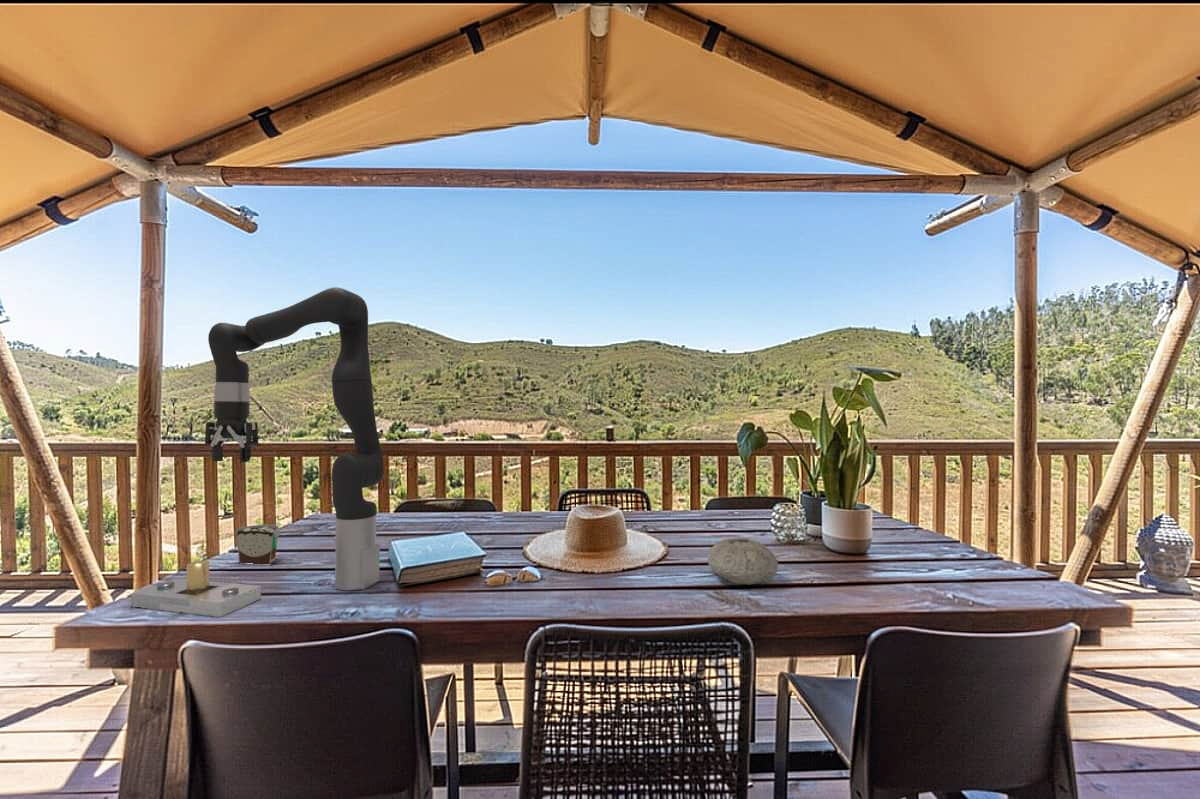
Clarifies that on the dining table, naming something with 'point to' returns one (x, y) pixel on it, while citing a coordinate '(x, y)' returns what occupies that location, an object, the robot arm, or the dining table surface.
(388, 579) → the dining table surface
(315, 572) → the dining table surface
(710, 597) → the dining table surface
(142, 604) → the studded base plate
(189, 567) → the brass pin
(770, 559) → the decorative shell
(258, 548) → the food container
